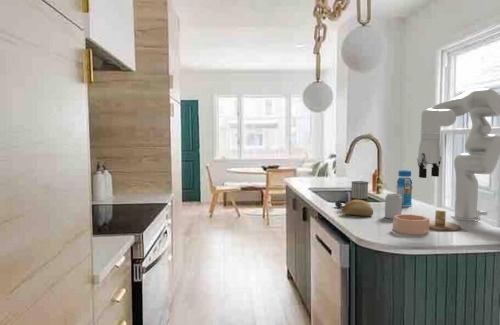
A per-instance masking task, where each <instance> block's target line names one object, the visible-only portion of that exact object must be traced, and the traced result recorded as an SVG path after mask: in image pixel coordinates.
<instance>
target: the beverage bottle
mask: <svg viewBox="0 0 500 325" xmlns="http://www.w3.org/2000/svg"><path fill="white" fill-rule="evenodd" d="M397 175H398V177H399V178H398V179H397V180H396V184H397V185H396V194H400V196H401V197H402V207H403V208H406V207H412V205H413V204H412V194H413V191H412V190H413V181H412V179H411V176H412V171H411V170H408V169H407V170H406V169H405V170H404V169H402V170H398V174H397Z"/></svg>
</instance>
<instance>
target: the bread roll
mask: <svg viewBox="0 0 500 325" xmlns="http://www.w3.org/2000/svg"><path fill="white" fill-rule="evenodd" d="M346 202H347V203H346V204H344V205H343V206H344V207H343V208H341V209H342V210H341V212H342V213H343V214H344V215H348V216H360V217H361V216H362V217H372V216H373V215H374V209H373V207H372V206H371V204H370V203H369V202H368V201H367V202H366V201H364V200H355V199H353V200H351V199H350V200H349V201H346Z"/></svg>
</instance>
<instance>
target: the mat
mask: <svg viewBox="0 0 500 325" xmlns="http://www.w3.org/2000/svg"><path fill="white" fill-rule="evenodd" d="M431 232H432V233H433V232H446V233H447V232H451V233H452V232H454V233H455V232H463V233H465V232H468V233H469V231H468V230H466V229H465V228H463V227H461V229H460V230H457V231H438V230H431V229H429V233H431Z"/></svg>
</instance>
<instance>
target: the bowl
mask: <svg viewBox="0 0 500 325" xmlns="http://www.w3.org/2000/svg"><path fill="white" fill-rule="evenodd" d="M429 221H430V218H429V217H427V216H424V215H418V214H412V213H411V214H408V213H407V214H402V213H401V214H399V215H395V216H393V219H392V230H393V231H395V232H396V233H399V234H405V235H425V234H428V233H430V231H429Z"/></svg>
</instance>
